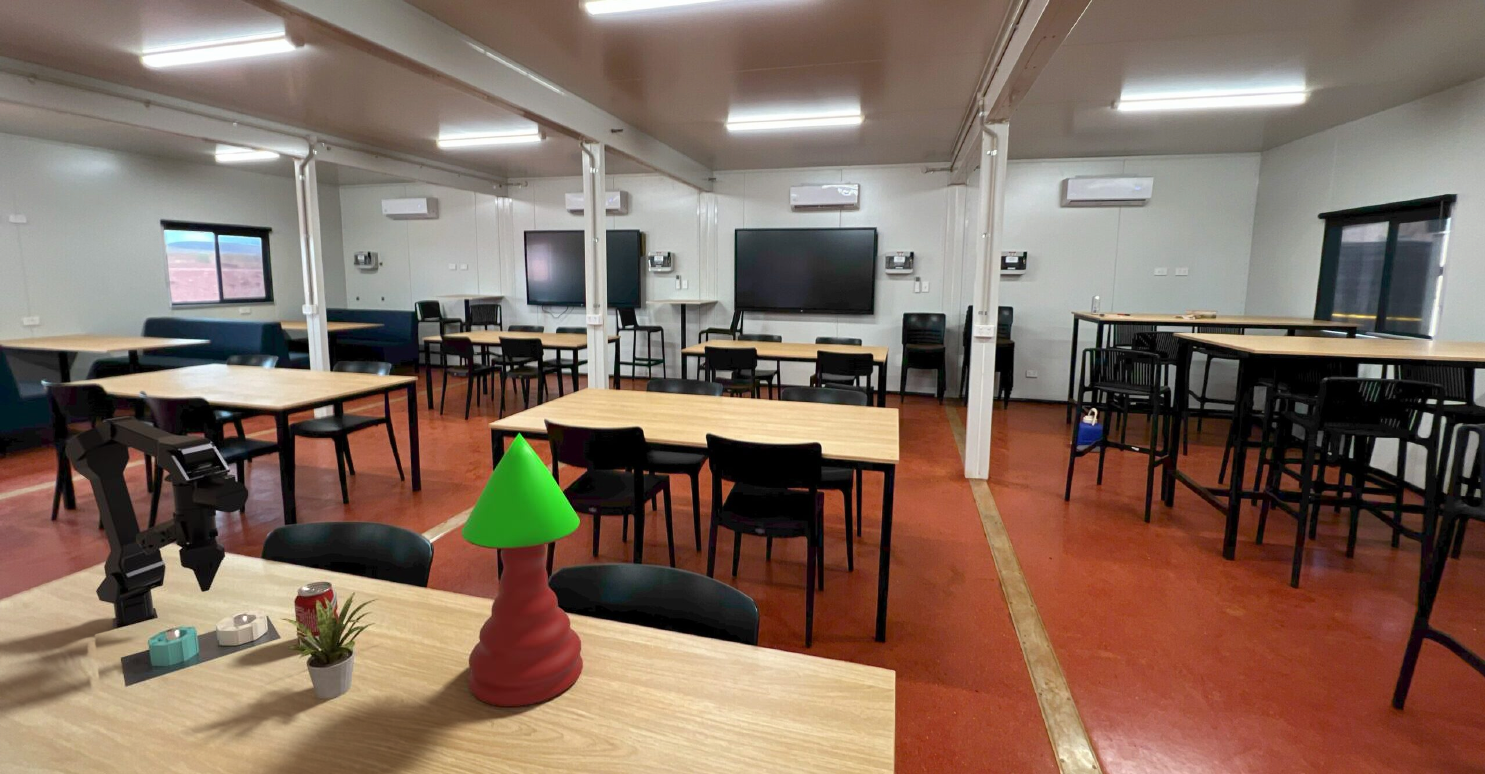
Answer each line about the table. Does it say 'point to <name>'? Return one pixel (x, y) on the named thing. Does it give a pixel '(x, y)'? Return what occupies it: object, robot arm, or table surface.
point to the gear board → (209, 649)
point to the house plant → (330, 650)
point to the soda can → (313, 606)
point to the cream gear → (241, 628)
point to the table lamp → (523, 585)
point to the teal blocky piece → (173, 647)
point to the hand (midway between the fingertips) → (202, 582)
